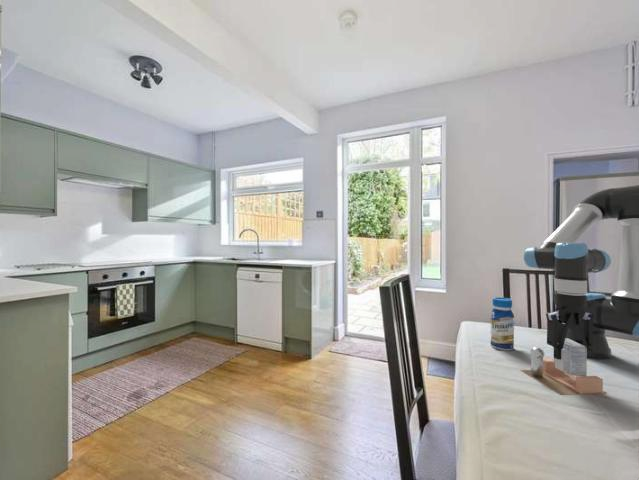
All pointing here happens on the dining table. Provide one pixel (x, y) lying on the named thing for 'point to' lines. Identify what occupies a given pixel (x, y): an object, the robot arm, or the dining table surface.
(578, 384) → the end holder
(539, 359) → the light bulb
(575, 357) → the medicine box
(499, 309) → the beverage bottle
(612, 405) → the dining table surface
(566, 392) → the board
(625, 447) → the dining table surface
